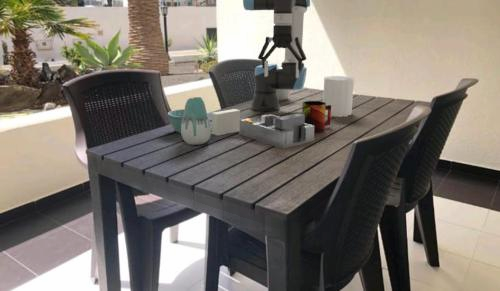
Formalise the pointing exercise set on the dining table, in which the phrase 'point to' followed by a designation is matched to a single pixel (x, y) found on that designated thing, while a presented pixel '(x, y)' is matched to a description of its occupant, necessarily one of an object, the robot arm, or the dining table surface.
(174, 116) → the bowl
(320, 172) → the dining table surface
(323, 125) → the mug
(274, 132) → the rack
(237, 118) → the block
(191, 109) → the vase
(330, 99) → the container
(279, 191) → the dining table surface
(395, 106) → the dining table surface
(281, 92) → the planter
